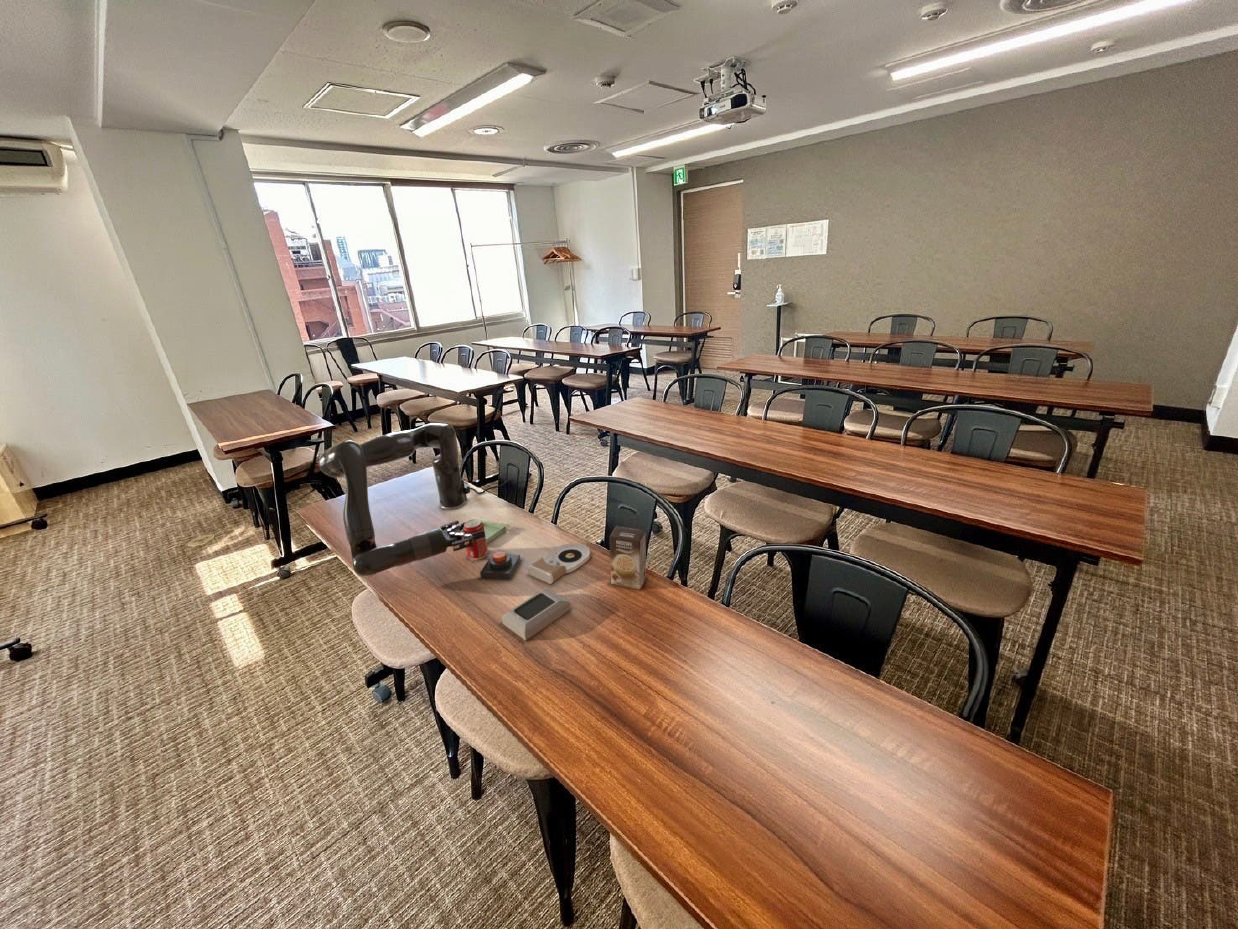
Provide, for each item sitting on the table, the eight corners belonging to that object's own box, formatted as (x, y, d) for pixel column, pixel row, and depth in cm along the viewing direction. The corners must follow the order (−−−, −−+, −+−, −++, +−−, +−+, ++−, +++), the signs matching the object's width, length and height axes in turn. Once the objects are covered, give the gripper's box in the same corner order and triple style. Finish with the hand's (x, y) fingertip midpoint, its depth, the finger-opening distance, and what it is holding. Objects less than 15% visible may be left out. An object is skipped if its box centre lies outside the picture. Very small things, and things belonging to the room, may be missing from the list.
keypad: (569, 598, 127) (523, 629, 117) (570, 609, 128) (525, 640, 118) (545, 584, 133) (500, 612, 123) (547, 595, 134) (502, 623, 124)
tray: (477, 522, 175) (477, 518, 174) (506, 530, 169) (505, 526, 168) (450, 540, 164) (450, 536, 163) (480, 548, 158) (479, 544, 158)
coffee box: (610, 584, 138) (607, 536, 131) (617, 571, 143) (615, 524, 137) (641, 589, 135) (639, 540, 129) (647, 576, 140) (646, 529, 134)
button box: (493, 559, 152) (491, 548, 150) (520, 560, 151) (519, 549, 149) (481, 578, 143) (479, 567, 141) (510, 579, 142) (508, 568, 140)
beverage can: (470, 551, 157) (464, 518, 153) (489, 549, 158) (484, 517, 153) (466, 562, 151) (460, 528, 147) (486, 560, 152) (480, 527, 147)
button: (496, 556, 147) (495, 551, 147) (507, 556, 147) (506, 551, 146) (492, 562, 144) (491, 557, 143) (503, 563, 144) (502, 558, 143)
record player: (525, 564, 143) (569, 535, 158) (526, 573, 144) (569, 543, 159) (553, 577, 137) (597, 545, 152) (554, 586, 138) (597, 554, 153)
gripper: (431, 544, 137) (485, 526, 145) (418, 524, 148) (470, 509, 156) (436, 566, 139) (489, 547, 148) (423, 545, 150) (474, 529, 159)
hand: (479, 527), depth 152 cm, fingers open, 8 cm apart
